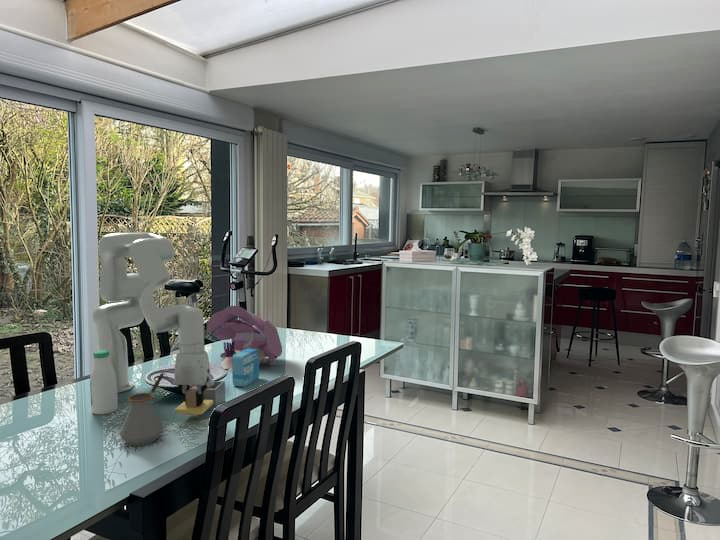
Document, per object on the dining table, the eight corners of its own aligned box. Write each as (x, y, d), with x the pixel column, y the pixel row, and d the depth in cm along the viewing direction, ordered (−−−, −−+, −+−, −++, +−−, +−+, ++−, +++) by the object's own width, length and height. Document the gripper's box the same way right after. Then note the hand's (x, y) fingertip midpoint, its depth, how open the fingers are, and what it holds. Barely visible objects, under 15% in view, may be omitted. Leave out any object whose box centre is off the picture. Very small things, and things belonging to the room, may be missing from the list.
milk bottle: (123, 407, 171) (119, 349, 168) (104, 416, 163) (101, 355, 161) (105, 404, 173) (101, 347, 171) (86, 413, 166) (82, 353, 163)
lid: (174, 416, 158) (173, 393, 157) (187, 405, 167) (186, 384, 166) (202, 417, 157) (201, 394, 156) (213, 406, 166) (212, 385, 165)
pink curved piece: (200, 379, 214) (184, 317, 206) (226, 353, 236) (212, 296, 228) (278, 377, 206) (264, 312, 198) (297, 350, 228) (285, 291, 220)
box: (191, 409, 169) (190, 388, 168) (202, 399, 178) (201, 380, 177) (215, 410, 168) (215, 389, 167) (225, 400, 177) (224, 381, 176)
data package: (242, 388, 189) (242, 356, 188) (232, 386, 191) (231, 355, 189) (259, 378, 200) (258, 348, 199) (249, 377, 202) (248, 347, 200)
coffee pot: (152, 449, 141) (150, 397, 139) (112, 448, 142) (109, 396, 140) (183, 418, 162) (181, 372, 160) (148, 417, 163) (146, 371, 161)
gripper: (161, 350, 157) (163, 408, 159) (212, 351, 155) (214, 410, 157) (172, 343, 164) (175, 399, 166) (221, 345, 162) (223, 401, 164)
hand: (194, 403), depth 161 cm, fingers closed on lid, 3 cm apart
